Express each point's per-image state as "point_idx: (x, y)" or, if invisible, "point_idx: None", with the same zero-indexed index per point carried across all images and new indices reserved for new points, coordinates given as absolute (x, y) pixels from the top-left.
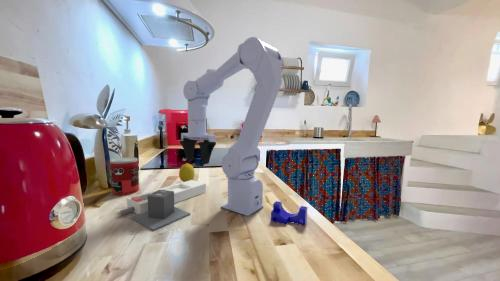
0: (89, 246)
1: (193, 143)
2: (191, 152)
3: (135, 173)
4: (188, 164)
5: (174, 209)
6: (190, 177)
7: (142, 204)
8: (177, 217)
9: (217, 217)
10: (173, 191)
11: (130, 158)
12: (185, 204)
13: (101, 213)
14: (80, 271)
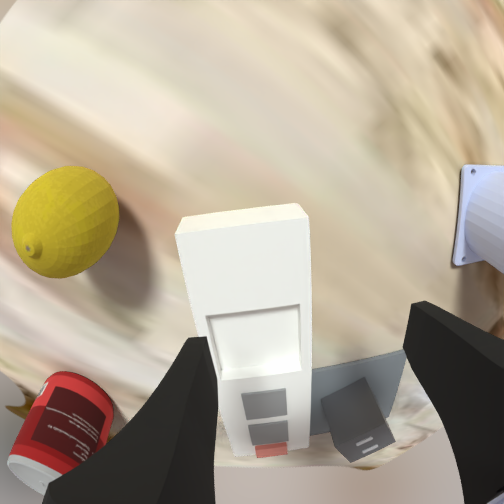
0: (340, 464)
1: (181, 502)
2: (201, 416)
3: (82, 440)
4: (44, 238)
5: (354, 373)
6: (118, 214)
7: (308, 442)
8: (395, 378)
9: (468, 304)
10: (385, 423)
11: (18, 465)
12: (340, 332)
13: (220, 457)
14: (383, 462)
